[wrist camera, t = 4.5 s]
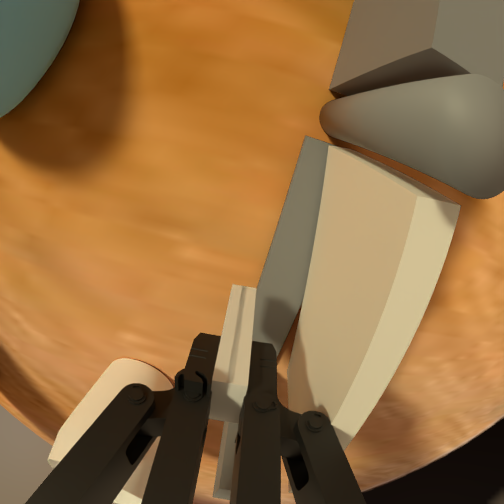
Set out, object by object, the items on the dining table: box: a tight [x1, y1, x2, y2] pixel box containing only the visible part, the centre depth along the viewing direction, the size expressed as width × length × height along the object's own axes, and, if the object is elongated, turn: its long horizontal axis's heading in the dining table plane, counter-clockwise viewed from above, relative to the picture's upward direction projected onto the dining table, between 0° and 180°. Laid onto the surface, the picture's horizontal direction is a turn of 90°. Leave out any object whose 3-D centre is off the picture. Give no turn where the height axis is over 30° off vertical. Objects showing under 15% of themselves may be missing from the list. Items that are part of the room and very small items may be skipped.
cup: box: [47, 358, 173, 504], centre depth 19 cm, size 9×9×12 cm
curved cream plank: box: [287, 145, 461, 493], centre depth 13 cm, size 16×2×10 cm, turn 175°
